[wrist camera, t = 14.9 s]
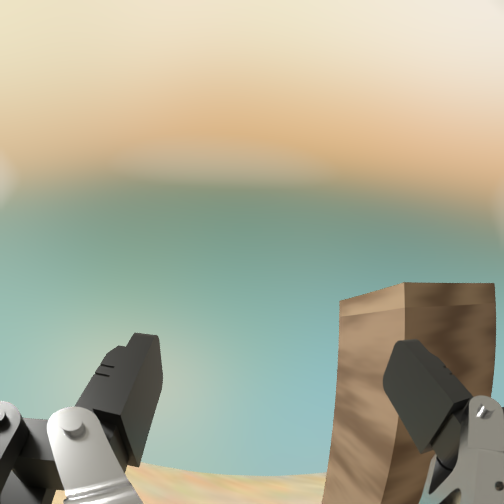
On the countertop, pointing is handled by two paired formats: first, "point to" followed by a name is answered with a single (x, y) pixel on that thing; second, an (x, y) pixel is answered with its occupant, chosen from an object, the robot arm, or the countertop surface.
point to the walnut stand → (371, 382)
